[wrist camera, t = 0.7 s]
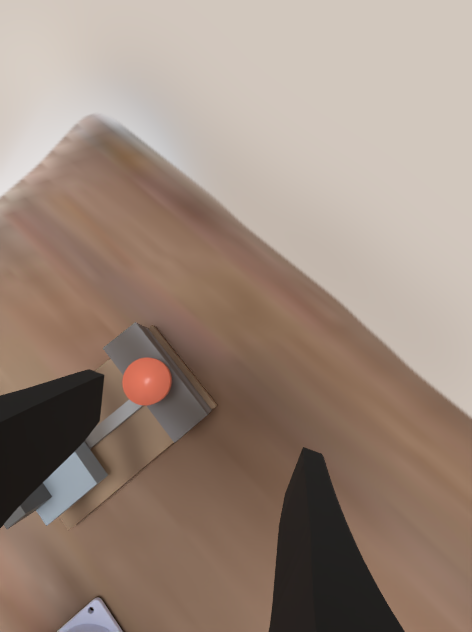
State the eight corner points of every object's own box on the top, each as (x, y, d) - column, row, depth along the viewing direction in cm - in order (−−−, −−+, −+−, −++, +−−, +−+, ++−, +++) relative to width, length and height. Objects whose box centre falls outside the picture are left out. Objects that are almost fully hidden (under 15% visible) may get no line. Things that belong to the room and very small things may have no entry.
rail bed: (75, 525, 32) (43, 553, 27) (15, 437, 33) (-26, 449, 28) (217, 404, 33) (212, 410, 28) (155, 326, 35) (140, 318, 30)
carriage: (61, 514, 30) (18, 547, 24) (17, 448, 31) (-35, 465, 25) (108, 475, 30) (76, 498, 24) (63, 412, 31) (22, 420, 25)
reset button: (144, 414, 27) (141, 415, 26) (117, 377, 27) (112, 378, 26) (181, 384, 27) (178, 384, 26) (153, 349, 28) (150, 348, 27)
